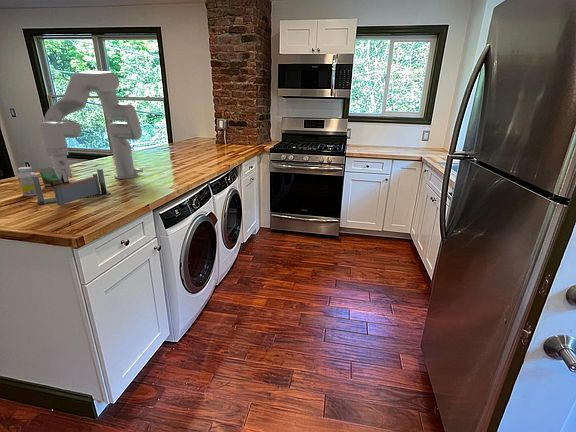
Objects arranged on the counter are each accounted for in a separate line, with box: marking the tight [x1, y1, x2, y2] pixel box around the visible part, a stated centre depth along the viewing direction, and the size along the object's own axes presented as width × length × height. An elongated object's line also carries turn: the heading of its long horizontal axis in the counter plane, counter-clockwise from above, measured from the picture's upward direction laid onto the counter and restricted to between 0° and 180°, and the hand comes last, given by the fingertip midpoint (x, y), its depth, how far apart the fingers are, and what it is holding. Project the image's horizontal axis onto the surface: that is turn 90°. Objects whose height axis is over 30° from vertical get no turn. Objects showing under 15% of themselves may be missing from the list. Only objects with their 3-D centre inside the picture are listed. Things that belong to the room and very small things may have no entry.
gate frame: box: [32, 168, 111, 206], centre depth 141 cm, size 28×6×12 cm, turn 134°
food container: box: [37, 166, 61, 188], centre depth 159 cm, size 12×6×10 cm, turn 168°
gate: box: [52, 173, 101, 206], centre depth 138 cm, size 22×2×9 cm, turn 166°
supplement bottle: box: [17, 166, 37, 197], centre depth 143 cm, size 7×7×13 cm
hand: (67, 192), depth 137 cm, fingers closed
